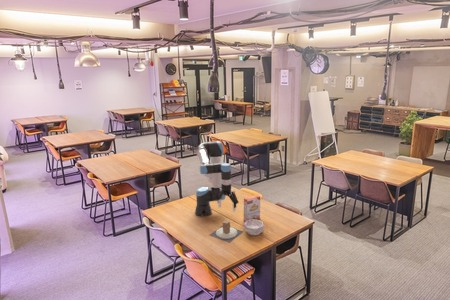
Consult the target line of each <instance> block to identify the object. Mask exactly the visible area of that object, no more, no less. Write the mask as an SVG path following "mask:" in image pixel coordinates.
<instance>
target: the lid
mask: <svg viewBox="0 0 450 300" xmlns="http://www.w3.org/2000/svg"><path fill="white" fill-rule="evenodd" d="M222 226H223V227H222ZM222 226H221V227H222V228H220V227H219V228H217V229H218V230H217V229H216V230H217V231H216V230H215V231H216V236H217V237H219V238H222V239H231V238H234V237H235V236H236V235H237V230H236V229H237V228H235V229H234V227H231V221H229V220H226V219H225V220H224V221H223V222H222Z"/></svg>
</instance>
